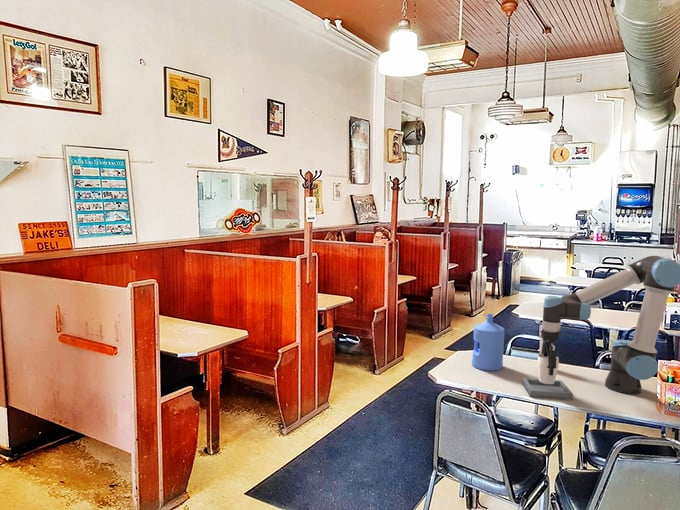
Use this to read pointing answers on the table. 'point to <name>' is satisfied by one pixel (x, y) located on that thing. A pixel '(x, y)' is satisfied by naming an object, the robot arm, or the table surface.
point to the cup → (545, 369)
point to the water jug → (488, 345)
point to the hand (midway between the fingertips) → (546, 377)
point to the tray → (546, 389)
